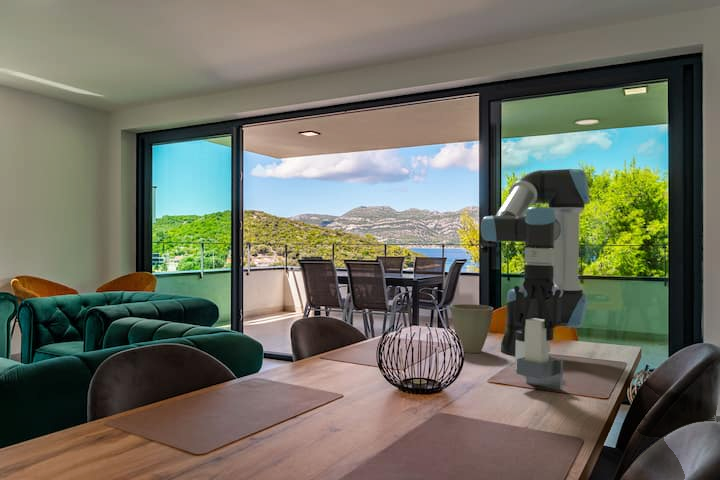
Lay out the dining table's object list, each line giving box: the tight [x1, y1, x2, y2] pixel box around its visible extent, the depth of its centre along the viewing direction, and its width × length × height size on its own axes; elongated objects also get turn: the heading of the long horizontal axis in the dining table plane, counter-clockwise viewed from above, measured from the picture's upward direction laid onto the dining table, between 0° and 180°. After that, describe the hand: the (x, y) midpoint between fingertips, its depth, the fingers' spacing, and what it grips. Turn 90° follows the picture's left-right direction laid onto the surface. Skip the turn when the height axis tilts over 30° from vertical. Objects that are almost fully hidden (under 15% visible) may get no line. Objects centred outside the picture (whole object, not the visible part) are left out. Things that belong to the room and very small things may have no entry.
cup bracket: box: [516, 357, 564, 391], centre depth 148 cm, size 9×10×8 cm
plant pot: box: [450, 303, 494, 354], centre depth 196 cm, size 15×15×16 cm
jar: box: [514, 330, 525, 372], centre depth 169 cm, size 9×8×12 cm
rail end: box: [525, 318, 550, 363], centre depth 148 cm, size 4×4×12 cm
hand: (537, 350), depth 148 cm, fingers closed on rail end, 4 cm apart
